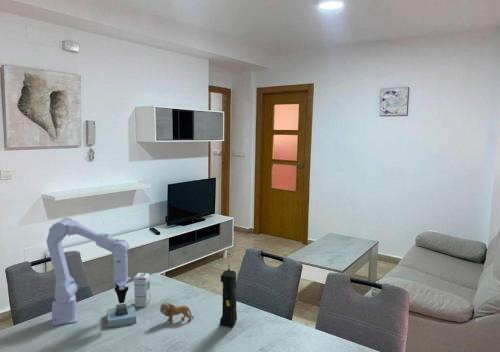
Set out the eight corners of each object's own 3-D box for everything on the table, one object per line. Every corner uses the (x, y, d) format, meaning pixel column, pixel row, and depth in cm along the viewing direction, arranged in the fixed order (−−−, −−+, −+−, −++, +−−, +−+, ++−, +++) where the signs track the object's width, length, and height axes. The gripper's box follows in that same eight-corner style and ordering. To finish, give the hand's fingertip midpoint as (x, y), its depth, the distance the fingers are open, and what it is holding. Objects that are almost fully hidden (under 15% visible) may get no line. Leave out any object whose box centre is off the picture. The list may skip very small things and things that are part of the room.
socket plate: (107, 327, 161) (107, 320, 160) (107, 315, 171) (107, 308, 171) (136, 323, 165) (136, 316, 164) (134, 311, 175) (134, 305, 175)
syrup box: (146, 307, 180) (146, 277, 178) (134, 306, 180) (133, 276, 178) (150, 301, 186) (150, 272, 184) (138, 301, 186) (137, 272, 184)
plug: (116, 322, 165) (116, 308, 165) (116, 317, 169) (116, 304, 168) (126, 320, 167) (126, 307, 166) (126, 316, 171) (125, 303, 170)
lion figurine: (161, 326, 163) (160, 306, 161) (159, 320, 167) (159, 301, 166) (195, 321, 168) (195, 301, 167) (192, 315, 173) (192, 296, 172)
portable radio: (233, 329, 162) (234, 272, 159) (219, 327, 163) (220, 270, 160) (237, 320, 169) (238, 265, 166) (224, 318, 170) (225, 264, 167)
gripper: (131, 273, 160) (132, 304, 162) (129, 262, 173) (129, 291, 175) (113, 275, 157) (114, 307, 159) (112, 264, 171) (113, 293, 173)
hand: (121, 299), depth 167 cm, fingers open, 7 cm apart
